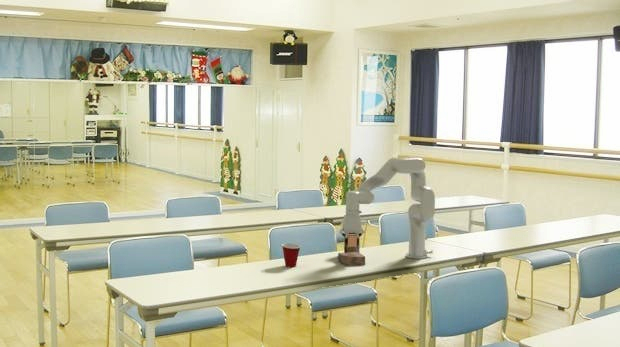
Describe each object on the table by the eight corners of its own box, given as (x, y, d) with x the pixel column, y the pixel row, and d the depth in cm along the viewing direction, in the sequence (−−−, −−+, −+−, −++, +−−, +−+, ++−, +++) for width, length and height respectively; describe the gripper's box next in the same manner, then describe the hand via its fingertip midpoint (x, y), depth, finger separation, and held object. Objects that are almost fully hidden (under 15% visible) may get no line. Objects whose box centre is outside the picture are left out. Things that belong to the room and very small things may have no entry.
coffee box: (359, 254, 405) (360, 228, 403) (359, 257, 398) (359, 230, 397) (344, 254, 405) (344, 227, 404) (343, 256, 399) (344, 229, 397)
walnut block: (357, 260, 391) (358, 252, 390) (364, 265, 379) (365, 256, 379) (338, 261, 388) (338, 252, 387) (344, 266, 376) (344, 257, 376)
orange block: (354, 244, 385) (355, 234, 385) (356, 246, 380) (357, 236, 380) (346, 244, 384) (346, 234, 384) (348, 246, 380) (348, 236, 379)
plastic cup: (298, 269, 367) (298, 247, 366) (279, 267, 369) (279, 246, 368) (302, 264, 378) (303, 243, 376) (284, 263, 380) (284, 242, 379)
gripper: (365, 211, 386) (364, 243, 387) (336, 211, 383) (335, 243, 385) (368, 214, 378) (367, 246, 380) (338, 214, 376) (337, 246, 377)
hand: (351, 244), depth 382 cm, fingers closed on orange block, 4 cm apart
